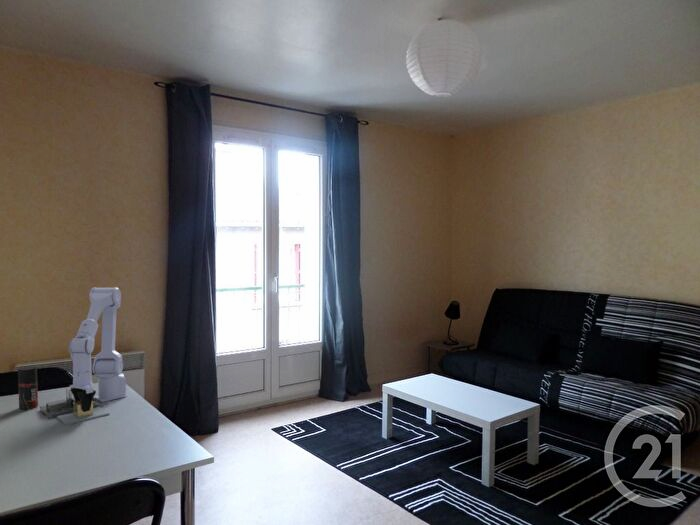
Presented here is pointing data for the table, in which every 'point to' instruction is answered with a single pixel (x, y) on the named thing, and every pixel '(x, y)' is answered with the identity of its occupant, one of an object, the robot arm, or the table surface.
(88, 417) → the mat
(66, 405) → the vise
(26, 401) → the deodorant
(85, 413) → the collar
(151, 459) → the table surface
